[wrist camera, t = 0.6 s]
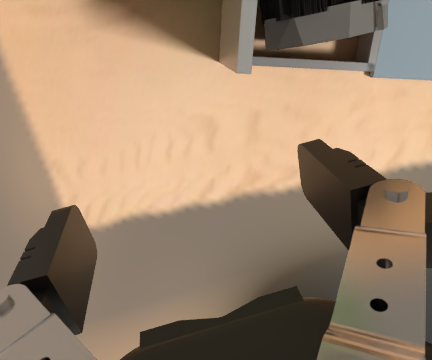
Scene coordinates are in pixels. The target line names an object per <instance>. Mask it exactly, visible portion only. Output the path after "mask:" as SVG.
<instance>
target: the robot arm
mask: <svg viewBox="0 0 432 360" xmlns="http://www.w3.org/2000/svg"><path fill="white" fill-rule="evenodd" d="M298 159H299V168H300V178H301V185H302V189H303V192H304V194H305V196H306V198H307V200H308V201H309V202H310V203H311V204H312V206H313V207H314V208H315V209H316V211H317V212H318V213H319V214H320V216H321V217H322V218H323V219H324V221H325V222H326V223H327V224H328V226H329V227H330V228H331V229H332V231H334V233H335V234H336V236H337V237H338V238H339V239H340V240H341V242H342V243H343V244H344V245H345V247H346V248H347V249H348V250H349V252H348V256H347V260H346V264H345V268H344V272H343V276H342V279H341V283H340V287H339V291H338V295H337V299H336V301H334V300H329V299H323V298H309V297H308V298H302V296H301V294H300V292H299V290H298V288H297V286H295V287H292V288H289V289H285V290H282V291H278V292H275V293H271V294H268V295H265V296H261V297H258V298H257V299H255V300H253V301H251V302H249V303H247V304H246V305H244V306H242V307H240V308H238V309H236V310H234V311H232V312H231V313H229V314H227V315H225V316H223V317H220V318H209V319H196V320H181V321H176V322H173V323H170V324H166V325H163V326H159V327H156V328H153V329H149V330H146V331H142V332H140V346H139V347H138V348H136V349H134V350H132V351H131V352H129V353H128V354H126V355H125V356H124V357H123V358H121V359H120V360H432V344H431V343H429V342H426V341H425V307H426V268H432V192H431V193H425V191H424V189H423V188H422V187H421V186H420V185H418V184H416V183H414V182H411V181H408V180H402V179H388V180H387V179H386V178H384V177H383V176H382V175H380V174H379V173H378V172H376V171H375V170H374V169H372V168H371V167H370V166H368V165H366V163H364V162H363V161H362V160H359V158H358V157H356V156H355V155H354V154H352V153H351V152H349V151H346V150H342V149H339V148H335V149H332V148H331V147H329V146H328V145H327V144H326V143H324V142H323V141H322V140H320V139H317V140H313V141H310V142H306V143H302V144H299V145H298ZM20 259H21V261H19V263H18V264H17V266H16V269H15V271H14V273H13V275H12V277H11V279H10V281H9V283H8V285H7V286H6V287H4V288H1V289H0V360H97V359H96V358H95V357H94V356H93V355H92V353H91V352H90V351H89V350H88V349H87V348H86V347H85V346H84V345H83V344H82V343H81V341H80V340H79V339H78V338H77V337H76V336H75V335H77V334H80V333H82V331H83V325H84V320H85V315H86V310H87V305H88V300H89V295H90V290H91V285H92V279H93V275H94V270H95V265H96V260H97V249H96V244H95V241H94V239H93V237H92V235H91V233H90V231H89V228H88V226H87V224H86V222H85V220H84V218H83V216H82V214H81V212H80V210H79V208H78V207H77V206H76V205H72V206H69V207H65V208H61V209H57V210H54V211H52V212H51V214H50V216H49V218H48V221H47V223H46V225H45V227H44V228H41V229H40V230H39V231H38V232H37V233H36V234H35V235H34V236H33V237H32V238H31V239H30V240H29V242H28V244H27V246H26V248H25V252H24V253H23V254H22V256H21V258H20Z"/></svg>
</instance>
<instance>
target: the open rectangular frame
mask: <svg viewBox="0 0 432 360" xmlns="http://www.w3.org/2000/svg"><path fill="white" fill-rule="evenodd" d="M388 2H389V0H381V4H382V5H386V4H388ZM256 12H257V0H222V16H221V34H220V53H219V62H220V63H221V64H223V65H224V66H226V67H228V68H229V69H231V70H232V71H234V72H236V73H241V74H251V70H252V65H254V66H273V67H292V68H311V69H330V70H349V71H369V72H374V69H375V64H376V60H377V55H378V50H379V45H380V40H381V36H382V31H383V30H378V31H374V32H371V33H366V34H362V35H360V37H359V42H358V47H357V53H356V58H355V62H354V61H336V60H318V59H300V58H282V57H263V56H253V47H254V35H255V24H256Z"/></svg>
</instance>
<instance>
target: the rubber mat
mask: <svg viewBox="0 0 432 360" xmlns="http://www.w3.org/2000/svg"><path fill="white" fill-rule="evenodd" d="M370 77H374V78H394V79H414V80H432V0H389V2H388V27H387V28H386V29H384V30H383V31H382V36H381V40H380V45H379V50H378V55H377V60H376V64H375V69H374V72H370Z"/></svg>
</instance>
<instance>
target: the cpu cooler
mask: <svg viewBox="0 0 432 360" xmlns="http://www.w3.org/2000/svg"><path fill="white" fill-rule="evenodd" d="M259 1H260V9H261V17H262V25H263V24H264V25H265V44H266V50H279V49H285V48H292V47H299V46H306V45H311V44H317V43H322V42H328V41H333V40H339V39H344V38H350V37H354V36H358V35H362V34H366V33H371V32H374V31H378V30H384V29H386V28H387V27H388V4H386V5H382V4H381V0H259Z"/></svg>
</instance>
